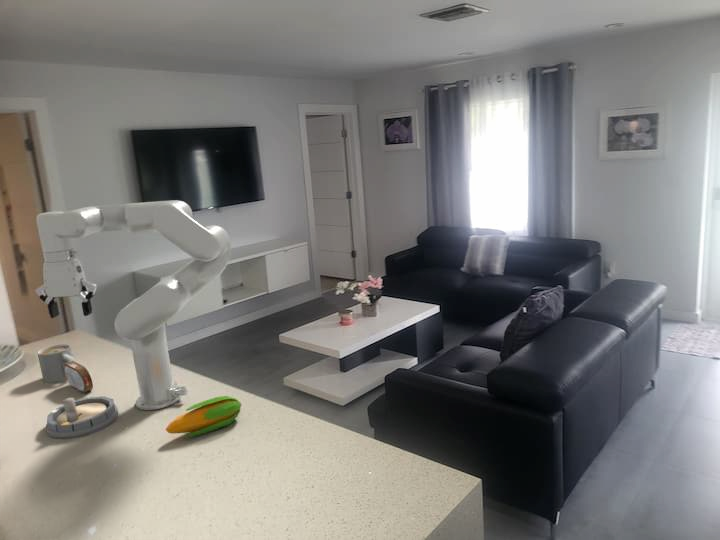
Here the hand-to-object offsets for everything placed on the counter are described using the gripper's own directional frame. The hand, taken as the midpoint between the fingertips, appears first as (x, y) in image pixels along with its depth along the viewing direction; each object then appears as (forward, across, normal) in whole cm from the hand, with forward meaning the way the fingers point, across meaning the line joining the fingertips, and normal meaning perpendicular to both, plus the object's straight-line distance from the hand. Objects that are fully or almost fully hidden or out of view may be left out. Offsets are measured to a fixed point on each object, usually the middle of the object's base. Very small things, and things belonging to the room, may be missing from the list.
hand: (71, 315), depth 156 cm
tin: (+29, +11, -14) cm, 34 cm away
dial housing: (+28, -3, +9) cm, 30 cm away
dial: (+27, -3, +9) cm, 28 cm away
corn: (+29, -40, +17) cm, 52 cm away
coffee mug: (+28, +23, -24) cm, 44 cm away
